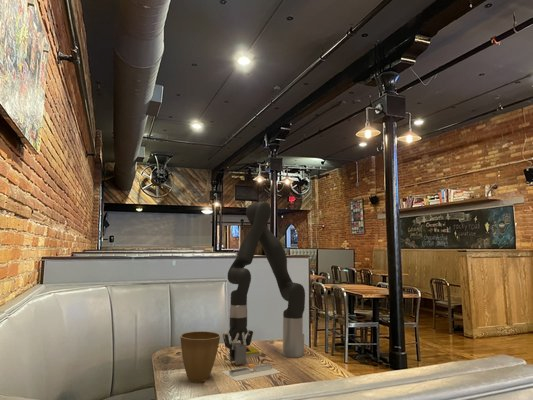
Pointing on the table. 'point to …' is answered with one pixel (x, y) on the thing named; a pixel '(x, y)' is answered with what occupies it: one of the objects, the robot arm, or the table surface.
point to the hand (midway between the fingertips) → (237, 357)
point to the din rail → (247, 370)
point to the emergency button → (251, 352)
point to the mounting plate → (251, 374)
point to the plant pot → (199, 354)
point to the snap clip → (251, 366)
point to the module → (239, 354)
